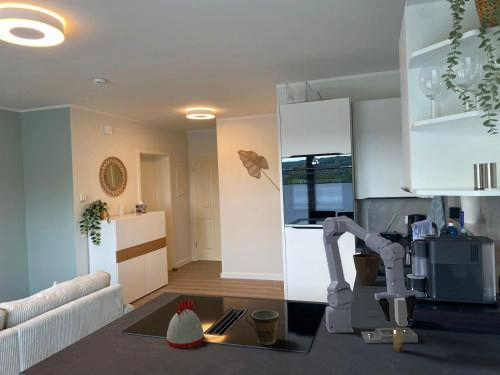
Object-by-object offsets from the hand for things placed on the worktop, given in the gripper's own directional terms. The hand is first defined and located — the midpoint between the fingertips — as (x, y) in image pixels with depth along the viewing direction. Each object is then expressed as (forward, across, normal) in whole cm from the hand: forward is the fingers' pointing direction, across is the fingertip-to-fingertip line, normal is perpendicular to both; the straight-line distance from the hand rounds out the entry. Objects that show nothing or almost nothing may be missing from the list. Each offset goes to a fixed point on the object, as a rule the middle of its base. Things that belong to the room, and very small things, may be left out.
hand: (398, 319), depth 129 cm
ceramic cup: (+8, -46, +13) cm, 49 cm away
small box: (+10, +11, +24) cm, 28 cm away
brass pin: (+10, -1, 0) cm, 10 cm away
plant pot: (+6, +18, +85) cm, 87 cm away
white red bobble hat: (+6, -75, +17) cm, 77 cm away
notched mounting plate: (+10, -1, +10) cm, 14 cm away
